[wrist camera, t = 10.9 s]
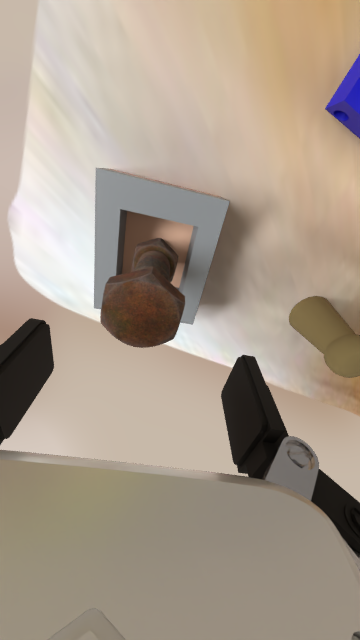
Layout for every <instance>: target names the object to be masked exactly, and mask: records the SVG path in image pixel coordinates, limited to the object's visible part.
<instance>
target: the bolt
mask: <svg viewBox="0 0 360 640" xmlns="http://www.w3.org/2000/svg"><path fill="white" fill-rule="evenodd" d="M177 263H178V255H177V254H176V252H175V251H174V250H173V249H172V248H171V247H170V246H169V245H168V244H167V243H166V242H165V241H164V240H163V239H162V238H156V239H151V240H149V241H145V242H142V243H139V244H137V246H136V248H135V252H134V257H133V262H132V270H131V271H132V272H128V273H124V274H120V275H116V276H112V277H110V278H109V279H108V281H107V282H106V284H105V289H104V293H103V299H102V306H101V324H102V325H103V326H104V327H105V328H106V329H107V330H108V331H109V332H110V333H111V334H112V335H113V336H114V337H115V338H117V339H118V340H120V341H121V342H123V343H125V344H127V345H131V346H133V347H141V348H143V347H153V346H157V345H160V344H163V343H166V342H168V341H170V340H172V339H174V337H175V335H176V333H177V330H178V327H179V324H180V321H181V318H182V315H183V311H184V307H185V296H184V295H183V294H182V293H181V292H180V291H179V290H178V289H177V288H176V287H174V286H173V285H172V284H171V283H170V282H172V280H173V277H174V274H175V270H176V267H177Z"/></svg>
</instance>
